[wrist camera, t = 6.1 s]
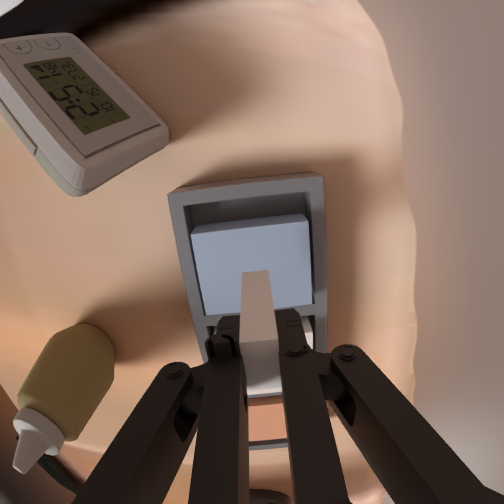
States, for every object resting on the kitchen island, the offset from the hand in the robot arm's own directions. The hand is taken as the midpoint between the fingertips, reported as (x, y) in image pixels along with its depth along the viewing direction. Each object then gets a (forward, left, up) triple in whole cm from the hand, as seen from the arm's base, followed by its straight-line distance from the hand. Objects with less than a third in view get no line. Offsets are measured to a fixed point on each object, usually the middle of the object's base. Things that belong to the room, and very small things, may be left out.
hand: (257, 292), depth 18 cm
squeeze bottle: (-9, +19, -9) cm, 23 cm away
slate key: (0, 0, -6) cm, 6 cm away
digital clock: (+15, +12, -9) cm, 21 cm away
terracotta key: (-18, 0, -7) cm, 20 cm away
